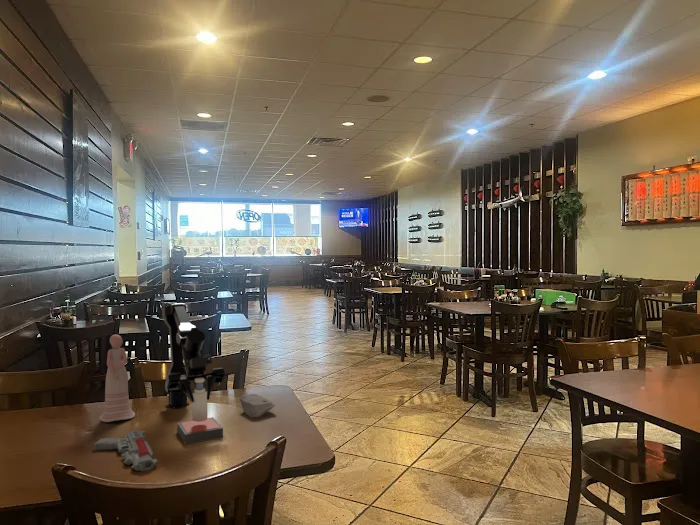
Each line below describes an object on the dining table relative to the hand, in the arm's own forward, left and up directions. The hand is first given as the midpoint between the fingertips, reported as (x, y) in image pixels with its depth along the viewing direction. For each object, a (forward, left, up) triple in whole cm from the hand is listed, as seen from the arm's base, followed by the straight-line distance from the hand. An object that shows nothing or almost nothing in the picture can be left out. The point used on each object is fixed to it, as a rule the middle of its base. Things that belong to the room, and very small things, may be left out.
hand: (200, 400), depth 169 cm
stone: (+2, +28, -12) cm, 30 cm away
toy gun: (-8, -23, -12) cm, 27 cm away
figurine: (-39, 0, -12) cm, 41 cm away
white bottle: (-1, +1, -7) cm, 7 cm away
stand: (-1, +1, -12) cm, 12 cm away
